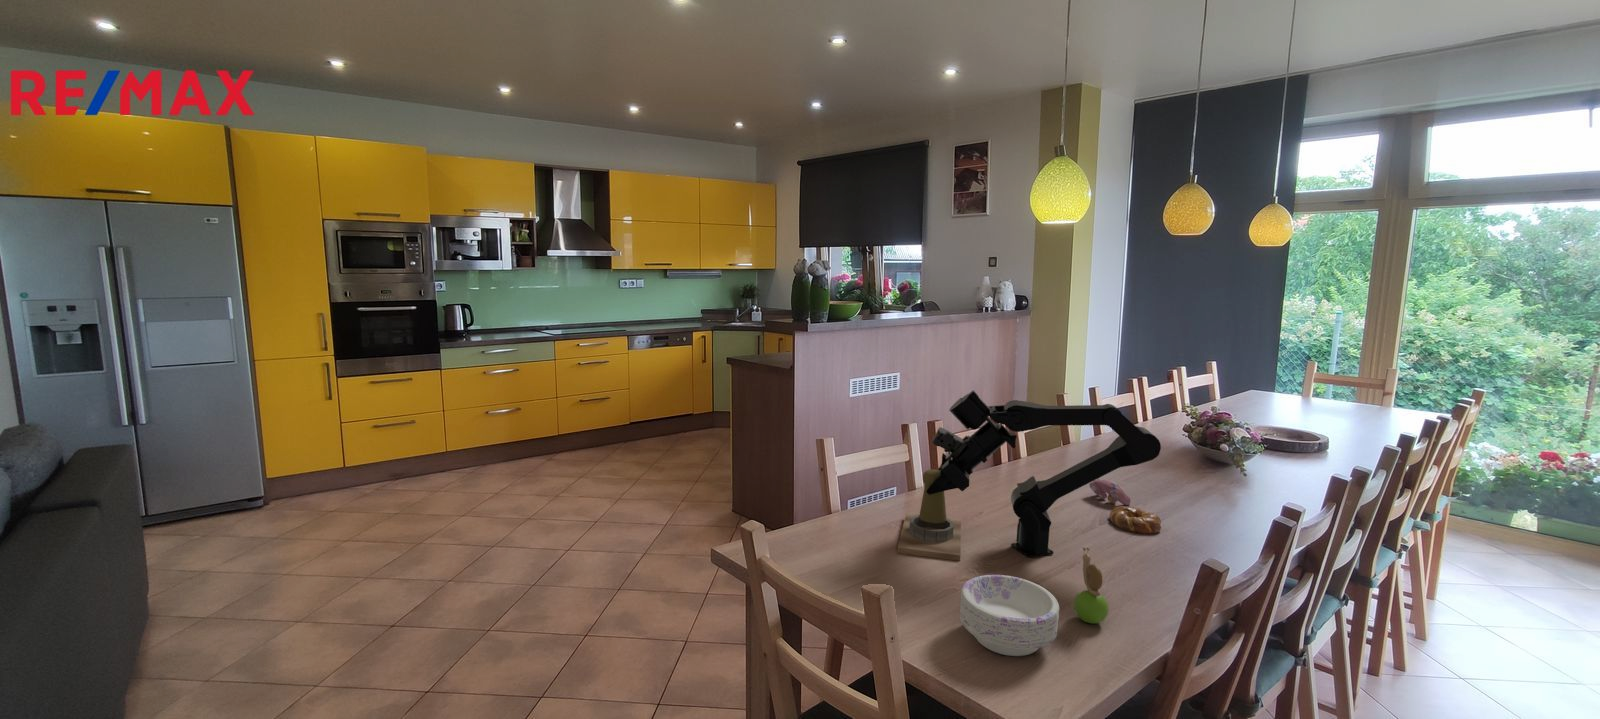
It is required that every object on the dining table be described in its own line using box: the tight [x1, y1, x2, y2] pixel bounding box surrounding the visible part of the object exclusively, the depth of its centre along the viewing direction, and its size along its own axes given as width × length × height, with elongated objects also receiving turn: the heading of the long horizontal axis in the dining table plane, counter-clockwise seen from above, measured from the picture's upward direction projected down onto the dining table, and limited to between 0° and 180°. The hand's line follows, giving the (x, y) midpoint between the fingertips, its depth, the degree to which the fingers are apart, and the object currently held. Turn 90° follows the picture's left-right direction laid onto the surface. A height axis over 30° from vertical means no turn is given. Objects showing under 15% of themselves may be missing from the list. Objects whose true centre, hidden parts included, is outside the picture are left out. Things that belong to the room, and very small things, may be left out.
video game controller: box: [1088, 478, 1132, 506], centre depth 176 cm, size 10×5×7 cm, turn 26°
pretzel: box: [1109, 505, 1162, 534], centre depth 160 cm, size 12×11×4 cm
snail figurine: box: [1073, 547, 1109, 625], centre depth 114 cm, size 5×6×12 cm
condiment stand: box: [897, 514, 962, 562], centre depth 148 cm, size 20×13×4 cm, turn 166°
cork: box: [919, 468, 948, 523], centre depth 147 cm, size 6×6×11 cm
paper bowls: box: [959, 574, 1060, 657], centre depth 107 cm, size 15×15×8 cm
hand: (928, 489), depth 147 cm, fingers closed on cork, 5 cm apart
